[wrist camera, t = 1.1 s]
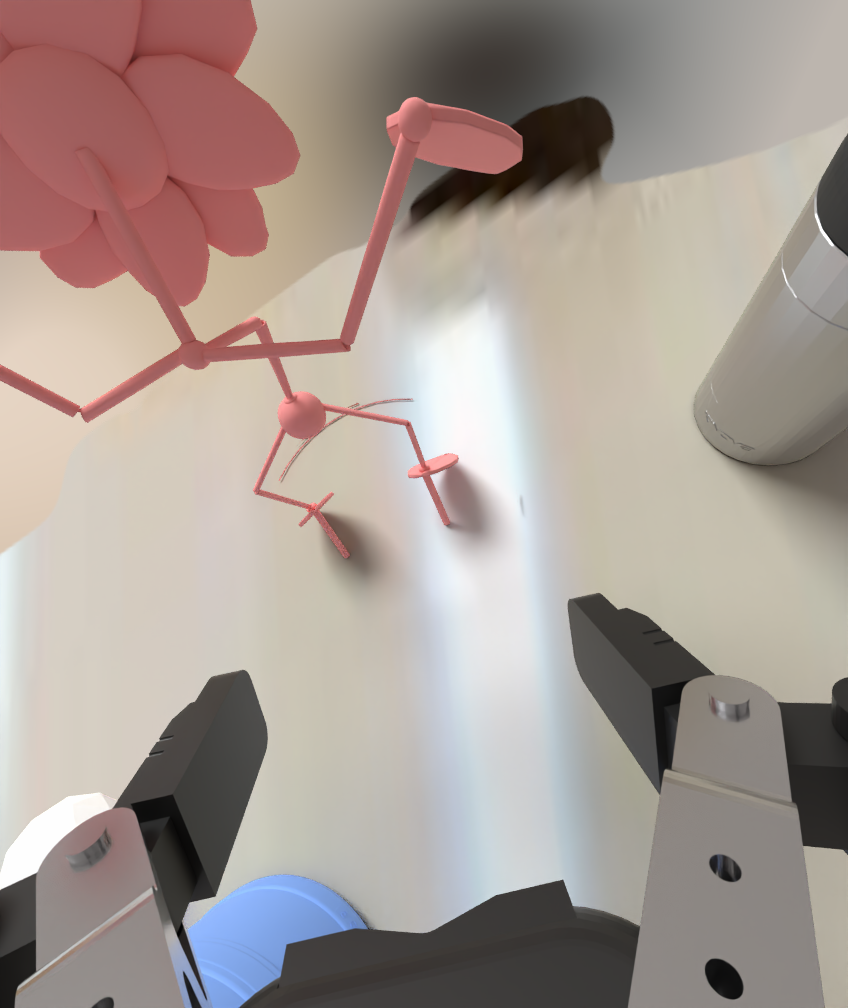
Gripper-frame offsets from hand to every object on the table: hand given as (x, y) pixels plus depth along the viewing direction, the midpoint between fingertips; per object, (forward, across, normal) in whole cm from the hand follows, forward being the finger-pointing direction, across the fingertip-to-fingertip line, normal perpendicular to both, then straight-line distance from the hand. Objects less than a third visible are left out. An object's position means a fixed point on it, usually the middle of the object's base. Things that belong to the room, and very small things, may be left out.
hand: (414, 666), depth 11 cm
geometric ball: (+20, +28, +23) cm, 41 cm away
